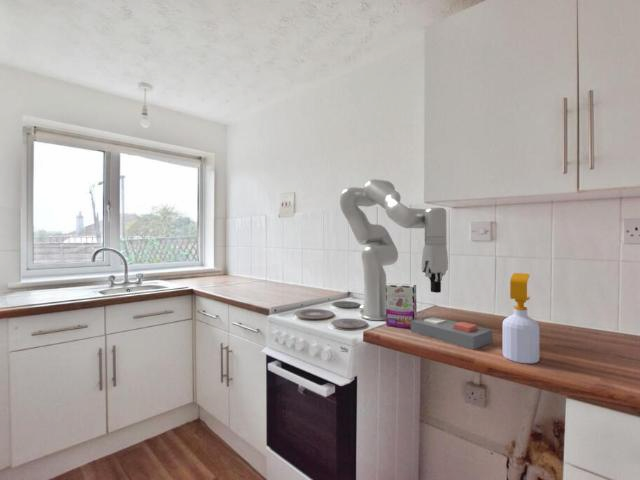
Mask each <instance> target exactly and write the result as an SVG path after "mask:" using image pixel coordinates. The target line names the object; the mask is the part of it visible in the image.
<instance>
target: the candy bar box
mask: <svg viewBox="0 0 640 480" xmlns="http://www.w3.org/2000/svg"><path fill="white" fill-rule="evenodd" d="M417 311H418V310H417V284H408V283H407V284H406V283H405V284H404V283H403V284H402V283H388V284H387V283H386V320H385V322H386V323H385V324H386V325H388V326H387V327H392V326H394V327H393V328H401V327H402V329H410V330H411V321H412V320H416V319H418V315H417V314H418V313H417ZM386 325H385V326H386Z"/></svg>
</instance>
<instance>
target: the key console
mask: <svg viewBox="0 0 640 480" xmlns="http://www.w3.org/2000/svg"><path fill="white" fill-rule="evenodd" d="M429 318H437V319H442V320H445V323H441V324H438V325H436V324H432V323H428V322H424V320H425V319H429ZM456 323H459V321H455V320H452V319H451V320H450V319H447V318H444V317H443V318H442V317H438V316H434V315H429V316H424V317H420V318H417V319H416V320H412V321H411V329H410V332H411V331H412V332H411V333H414V332H415V334H418V333H419V334H418V335H421V334H422V336H425V337H428V336H429V337H428V338H431V337H432V338H431V339H435V338H436V339H435V340H438V339H439V340H438V341H441V342H442V341H443V342H445V341H446V342H447V343H449V344H452V343H453V344H452V345H456V346H459V347H464V348H467V349H470V350H475V349H478V348H481V347H483V346H485V345H487V344H490V343H492V342H493V329H490V328H485V327H482V326H478V330H476V331H473V332H470V333H468V332H464V331H460V330H456V329H454V324H456Z"/></svg>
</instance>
